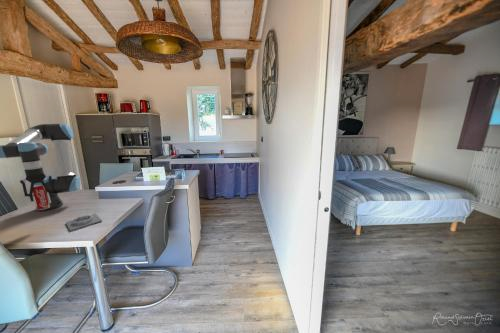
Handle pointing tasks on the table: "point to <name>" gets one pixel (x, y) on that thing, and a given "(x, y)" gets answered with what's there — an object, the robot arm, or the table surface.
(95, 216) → the seat plate
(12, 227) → the table surface
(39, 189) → the beverage can
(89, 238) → the table surface
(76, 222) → the collar
